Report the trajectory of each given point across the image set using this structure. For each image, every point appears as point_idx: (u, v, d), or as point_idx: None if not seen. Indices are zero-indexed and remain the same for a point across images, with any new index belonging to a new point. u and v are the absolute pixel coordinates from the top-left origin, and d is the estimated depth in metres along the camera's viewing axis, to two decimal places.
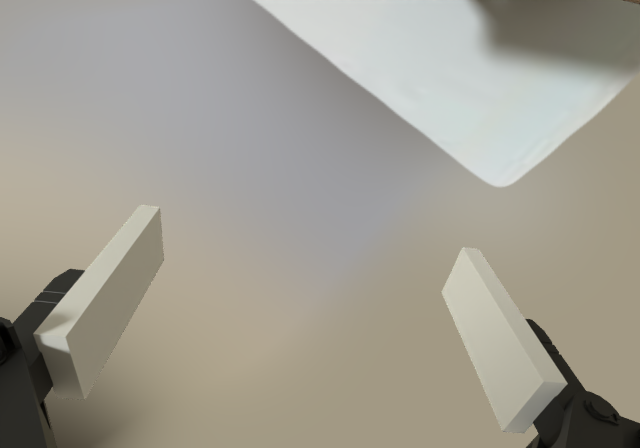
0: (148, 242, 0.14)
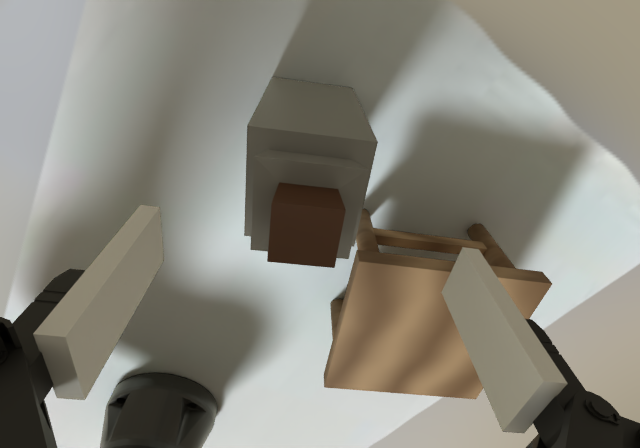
0: (148, 242, 0.14)
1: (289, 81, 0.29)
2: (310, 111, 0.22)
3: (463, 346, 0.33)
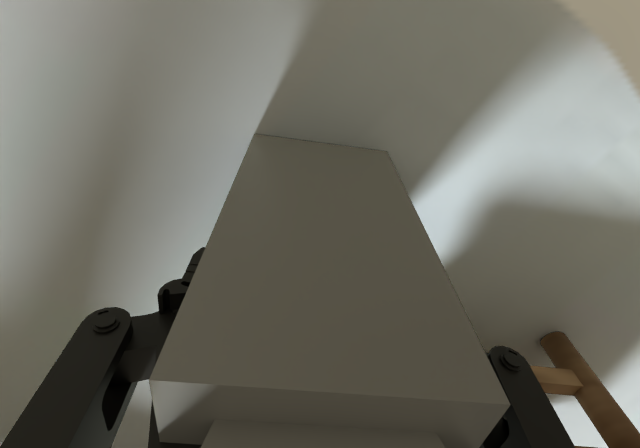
0: None
1: (282, 144, 0.17)
2: (323, 252, 0.10)
3: None
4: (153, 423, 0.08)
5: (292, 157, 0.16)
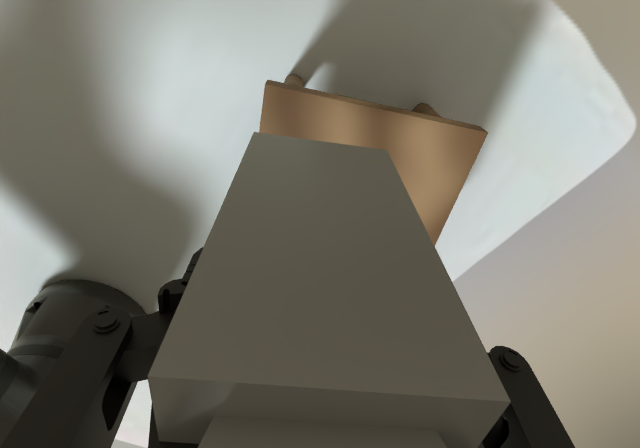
0: None
1: (282, 142, 0.17)
2: (322, 249, 0.10)
3: None
4: (153, 423, 0.08)
5: (292, 155, 0.16)
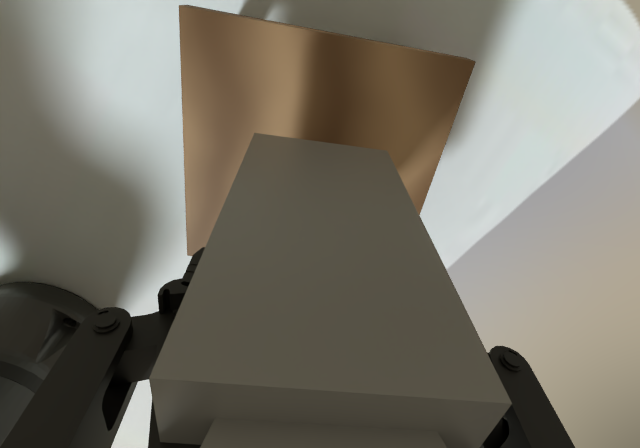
0: None
1: (282, 143, 0.17)
2: (323, 250, 0.10)
3: None
4: (153, 423, 0.08)
5: (292, 156, 0.16)
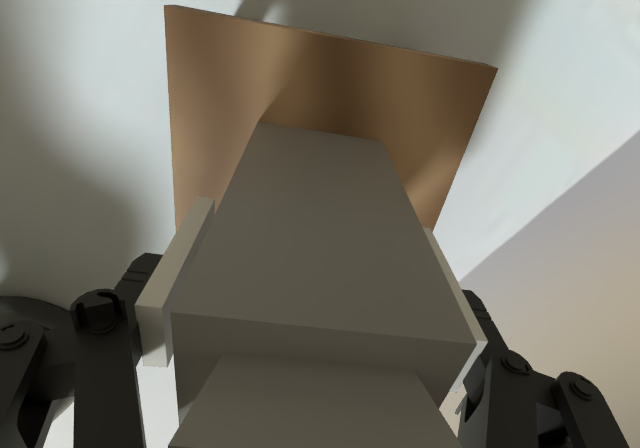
0: (207, 230, 0.15)
1: (284, 131, 0.18)
2: (320, 222, 0.11)
3: None
4: None
5: (293, 143, 0.17)
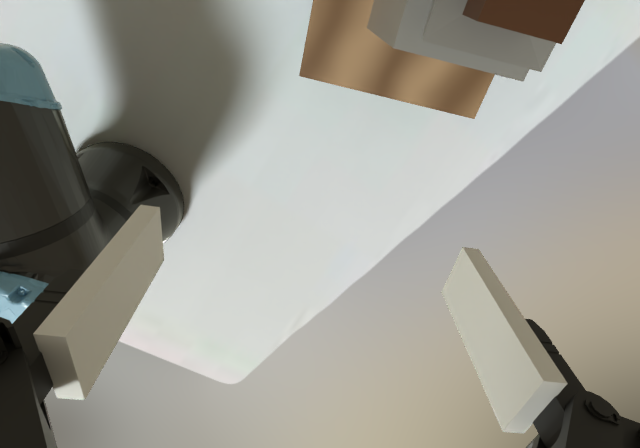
0: (148, 242, 0.14)
1: None
2: None
3: None
4: None
5: None
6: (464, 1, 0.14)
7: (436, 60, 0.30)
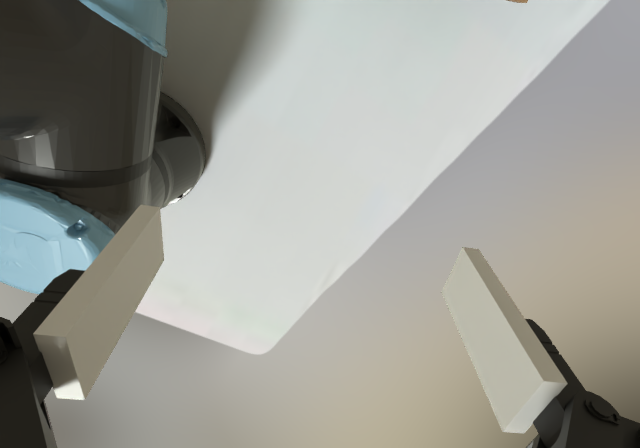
0: (148, 242, 0.14)
1: None
2: None
3: None
4: None
5: None
6: None
7: None
